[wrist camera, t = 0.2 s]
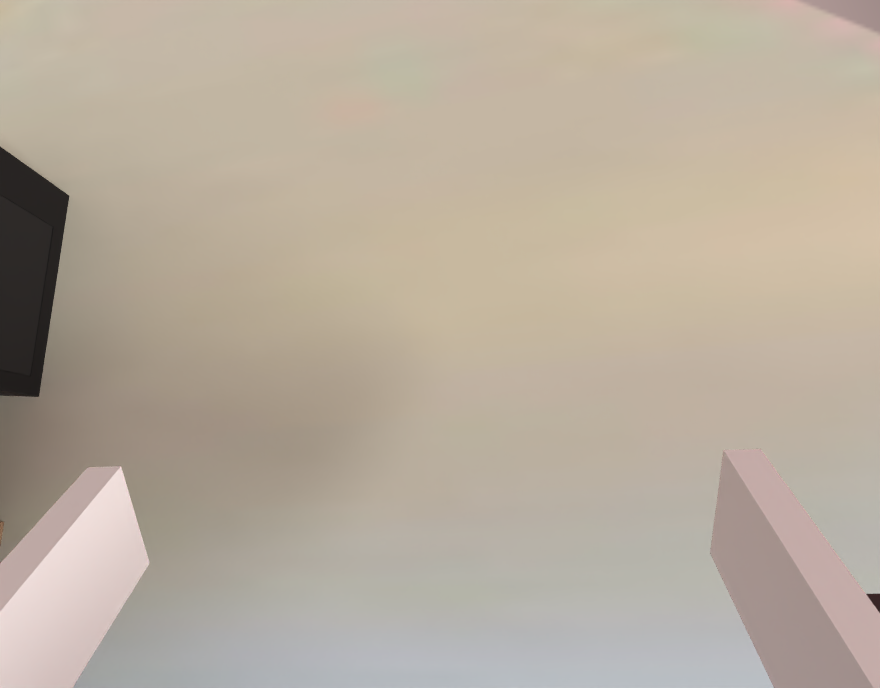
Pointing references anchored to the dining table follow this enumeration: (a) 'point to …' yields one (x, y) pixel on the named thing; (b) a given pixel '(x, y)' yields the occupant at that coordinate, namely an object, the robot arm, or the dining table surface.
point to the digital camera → (27, 271)
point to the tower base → (1, 530)
